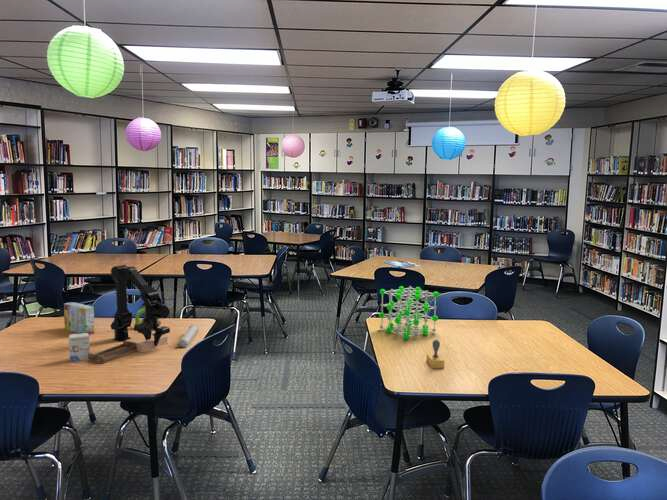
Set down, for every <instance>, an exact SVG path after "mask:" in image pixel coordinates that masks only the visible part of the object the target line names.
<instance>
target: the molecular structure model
mask: <svg viewBox="0 0 667 500" xmlns="http://www.w3.org/2000/svg"><path fill="white" fill-rule="evenodd" d="M379 294H380V295H381V303H380V304H379V305H380V307H381V312H380V313H378V317H379V318H380V319H381V321H380V322H381V324H380V326H379V328H380V330H385V331H386V333H388V334H390V333H394V334H395V335H396V336H398V335H399V336H402V338H403V339H404V340H406V341H407V340H409V339H410V337H417V336H418V335H423V336H428V334H429V333H432V332H433V333H435V332H436V331H437V330H436V322H437V321H438V320H439V317H438V316H437V315H436V313H437V312H436V310H437V305H436V303H437V298H438V297H439V296H440V293H439V292H438V291H434V292H429V290H423V289H421V287H420V286H416V287H415V288H414V287H412V286H411V285H409V286H408V287H404V286H403V285H401V286H399V287H398V289H393V288H391V289H390V290H385V288H380V290H379ZM385 294H386V295H388V299H389V302H388V303H385V304H384V295H385ZM429 294H430V295H429ZM393 297H395V299H396V300H397V302H395V301H394V300H393ZM429 297H433V298H434V306H431V305H430V304H429V302H428V298H429ZM422 298H425V302H423V303H421V302H420V299H422ZM402 299H403V300H402ZM414 300H415V301H414ZM384 307H386V309H387V310H388V313H384V309H383V308H384ZM414 308H415V309H414ZM393 310H395V311H396V312H393ZM430 310H434V311H433V312H434V315H432V316H429V315H428V314H427V313H428V312H429V311H430ZM421 311H423V312H424V314H423V313H421ZM411 313H412V314H411ZM393 316H394V317H393ZM384 318H386V319H387V320H388V325H386V326H384V325H383V324H384V323H383V322H384V321H383V320H384ZM423 318H424V319H423ZM393 321H394V322H393ZM403 321H405V322H403ZM428 321H433V328H432V329H431V328H429V325H428V324H427V323H428ZM422 322H424V324H423V325H420V323H422ZM418 327H420V328H418ZM396 330H397V331H396ZM414 331H415V332H414Z"/></svg>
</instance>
